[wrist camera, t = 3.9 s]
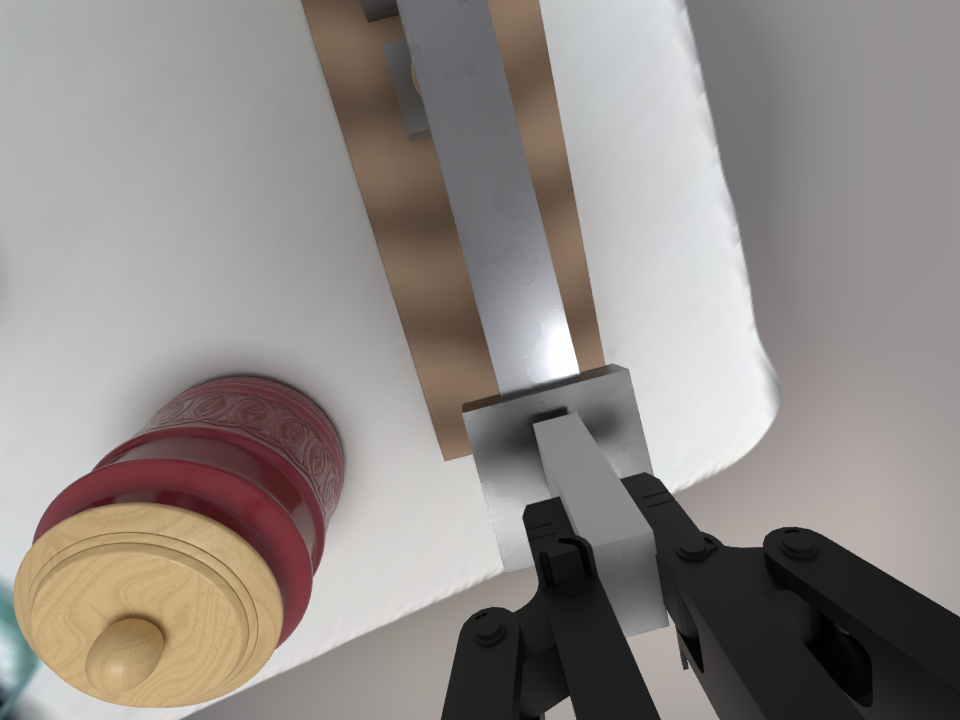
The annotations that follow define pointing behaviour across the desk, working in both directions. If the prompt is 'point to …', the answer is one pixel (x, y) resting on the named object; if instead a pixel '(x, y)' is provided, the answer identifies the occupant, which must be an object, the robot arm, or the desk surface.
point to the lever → (508, 274)
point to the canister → (185, 548)
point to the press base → (423, 199)
